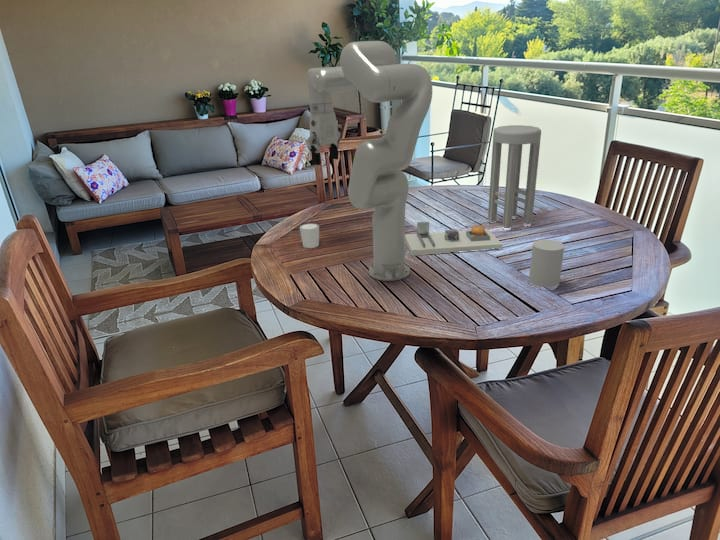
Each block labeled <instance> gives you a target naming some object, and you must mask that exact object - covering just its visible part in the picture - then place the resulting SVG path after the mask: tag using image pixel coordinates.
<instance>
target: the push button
mask: <svg viewBox="0 0 720 540" xmlns="http://www.w3.org/2000/svg"><path fill="white" fill-rule="evenodd" d="M485 229H486V227H485V226H484V225H480V224H479V225H472V226H471V229H470V230H471V233H472V234H473V235H484V234H485Z"/></svg>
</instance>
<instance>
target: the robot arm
mask: <svg viewBox="0 0 720 540" xmlns="http://www.w3.org/2000/svg"><path fill="white" fill-rule="evenodd" d="M339 63H340V66H331V67H313V68H309V69H308V71H307V72H306V73H307V75H306V76H307V87H308V88H307V89H308V98H309V99H308V100H309V102H308V103H309V113H310V115H309V137H308V138H307V139H306V140H305V143H306V146H307V148H308V150H309V153H310V154H311V162H312V163H311V164H312V165H314V166H321V164H322V162H321V160H322V159H321V153H320V150H321V147H325V146H326V147H327V146H329V148H328V150H329V151H328V153H329V159H330V160H339V150H338V149H339V146H340V145H339V142H340V138H341V132H340V131H339V127H338V120H337V117H336V116H337V115H336V112H335V111H334V100H333V99H334V96H333V94H338V93H340V94H341V93H348V92H349V93H350V92H351V93H352V92H355V91H358V92H359V93H360V94H361V96H363V98H365V99H366V100H367V101H368V102H369V101H370V102H372V103H377V104H378V103H379V104H380V103H385V102H395V101H396V102H397V101H401V103H400V104H399V105H398V106H397V107H396V109H394V111H393V112H392V114H391V116H390V117H389V119H388V121H387V127H386V130H385V133H384V135H383V136H381V137H378V138H376V137H375V138H371V139H366V140H365V141H362V142H361V143H360V144H359V145H358V147H357V148H356V151H355V153H354V156H353V162H352V167H351V171H350V175H349V181H348V182H349V183H348V191H347V192H348V199H349V201H350V204H352V206H353V207H355V208H357V209H358V210H367V209H371V208H372V209H373V208H374V211H373V213H372V218H371V219H372V220H371V221H372V222H371V223H372V225H371V226H372V249H373V250H372V254H373V257H372V258H373V264H372V265H371V266H369V268H368V274H369V276H370V277H371V278H373V279H375V280H378V281H383V282H395V281H400V280H403V279H405V278H407V277H409V275H410V274H411V268H410V266H408V265H407V264H406V242H405V235H406V207H407V206H406V205H407V200H408V194H409V180H408V177H407V175H406V174H405V173H404V172H403V171H404V170H405V169H406V170H407V168H408V167H409V166H410V164H411V161H412V159H413V157H414V153H415V150H416V146H417V142H418V139H419V135H420V131H421V128H422V127H423V126H422V125H423V123H424V121H425V118H426V117H427V114H428V113H429V109H430V108H431V107H430V106H431V104H432V101H433V100H432V99H433V83H432V78H431V75H430V73H429V72H428V70H427V69H426V68H425V67H423V66H422V65H419V64H415V63H397V64H395V63H396V53H395V50H394V48H393V47H392V46H391V45H390V43H387V42H386V41H382V40H365V41H364V40H363V41H351V42H348V43H347V44H346V45H345V46H344V47H343V49H342V51H341V53H340V57H339Z"/></svg>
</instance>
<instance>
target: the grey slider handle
mask: <svg viewBox="0 0 720 540" xmlns="http://www.w3.org/2000/svg"><path fill="white" fill-rule="evenodd" d="M417 233H418V234H420V236H421V237H422V238H427V234H426V233H430V221H420V222H419V221H417V223H416V234H417Z"/></svg>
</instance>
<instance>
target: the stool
mask: <svg viewBox="0 0 720 540" xmlns="http://www.w3.org/2000/svg"><path fill="white" fill-rule="evenodd" d="M492 132H493V135H492V149H491V151H492V152H491V167H490V178H489V180H490V182H489V198H488V214H487V221H488V220H489V221H496V222H497V219H498V217H497V216H498V215H497V214H498V206H500V207H503V216H502V217H503V218H502V227H504V228H510V227H513V226H512V224H513V220H512V216H516V217H517V213H518V202H520V203H522V204H524V208H523V218H522V219H523V220H522V224H523V223H526V224H530V223H532V224H533V216H534V206H535V198H536V187H537V178H538V177H537V176H538V167H539V158H540V146H541V137H542V129H541V128H540V127H538V126H532V125H524V124H523V125H515V124H514V125H503V126H502V125H501V126H497V127H495V128H493V131H492ZM502 144H505V145H508V152H507V164H506V178H505V190H504V193H502V192H500V191H499V187H500V174H501V173H500V172H501V163H502V162H501V160H502V148H503V147H502V146H503V145H502ZM523 145H530V146H529V155H528V163H527V164H528V167H527V177H526V184H525V185H526V188H525V190H523V189H520V188H519V187H520V178H521V169H522V168H521V166H522V157H523V156H522V154H523ZM519 194H521V195H523V196H525V198H522V197H520V196H519ZM499 198H500V199H501V198H502V199H504V202H503V201H501V200H499Z"/></svg>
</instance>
